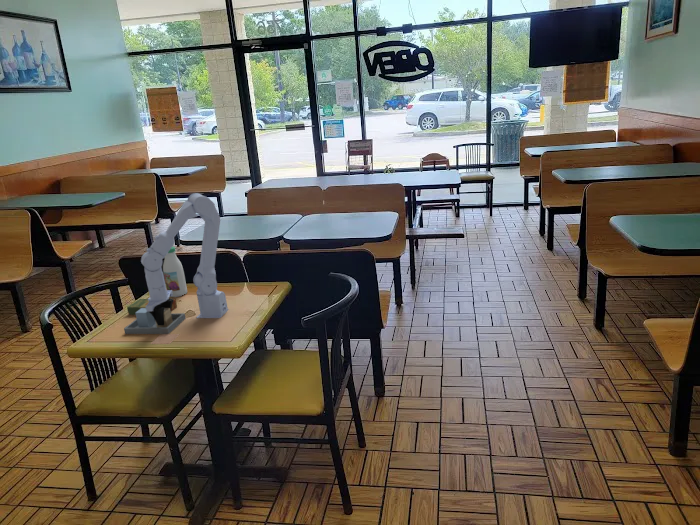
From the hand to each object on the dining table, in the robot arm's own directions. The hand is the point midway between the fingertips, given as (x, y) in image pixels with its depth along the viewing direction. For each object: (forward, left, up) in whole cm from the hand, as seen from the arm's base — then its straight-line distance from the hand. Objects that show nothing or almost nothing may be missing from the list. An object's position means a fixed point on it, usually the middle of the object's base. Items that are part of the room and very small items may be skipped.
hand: (164, 322), depth 183 cm
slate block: (+7, 0, -1) cm, 7 cm away
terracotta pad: (-5, +10, -2) cm, 12 cm away
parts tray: (+4, 0, -2) cm, 4 cm away
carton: (+13, -13, -2) cm, 19 cm away
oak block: (0, 0, -1) cm, 1 cm away
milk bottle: (+12, -31, -2) cm, 34 cm away
